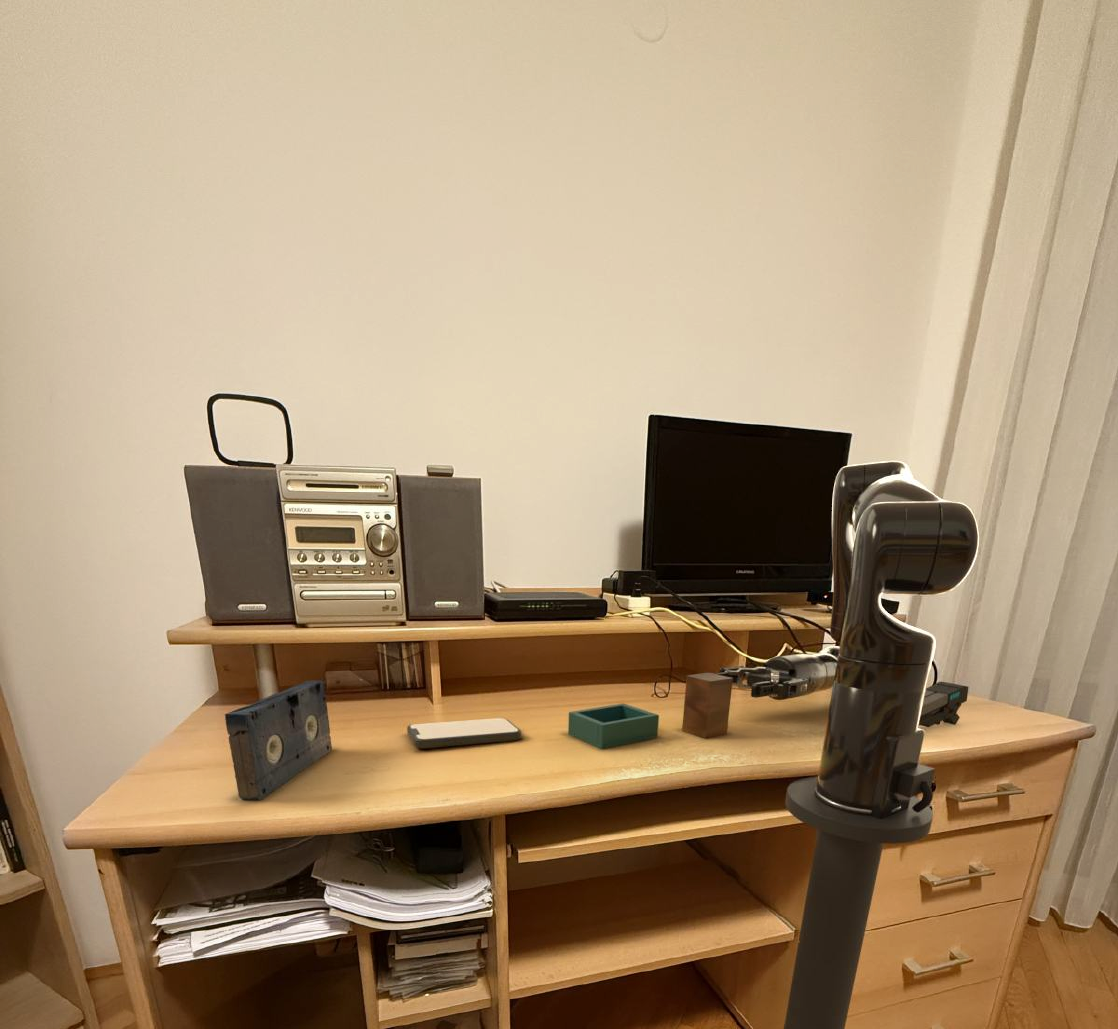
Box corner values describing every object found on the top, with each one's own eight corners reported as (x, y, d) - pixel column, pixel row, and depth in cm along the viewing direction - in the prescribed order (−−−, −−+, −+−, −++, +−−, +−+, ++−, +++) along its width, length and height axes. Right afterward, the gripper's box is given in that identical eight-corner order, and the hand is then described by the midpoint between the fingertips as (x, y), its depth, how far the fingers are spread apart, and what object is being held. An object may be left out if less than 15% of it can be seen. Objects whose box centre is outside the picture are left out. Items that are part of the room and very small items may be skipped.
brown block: (726, 733, 94) (733, 677, 91) (705, 738, 91) (710, 681, 88) (703, 726, 98) (708, 672, 95) (681, 730, 95) (686, 675, 92)
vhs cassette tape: (316, 748, 83) (307, 679, 80) (336, 749, 83) (328, 680, 80) (233, 800, 66) (219, 714, 63) (258, 801, 66) (245, 715, 63)
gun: (968, 722, 101) (970, 669, 96) (893, 776, 94) (891, 722, 90) (942, 716, 104) (942, 665, 100) (867, 767, 98) (864, 715, 93)
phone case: (505, 726, 96) (406, 734, 90) (505, 716, 96) (405, 724, 90) (523, 742, 89) (416, 751, 83) (524, 731, 88) (416, 740, 82)
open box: (657, 737, 91) (659, 714, 90) (601, 749, 85) (602, 725, 84) (622, 724, 98) (623, 703, 97) (568, 734, 92) (568, 712, 91)
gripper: (762, 649, 108) (700, 656, 100) (834, 661, 97) (771, 670, 88) (757, 689, 111) (696, 699, 102) (827, 705, 99) (765, 718, 91)
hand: (731, 685), depth 95 cm, fingers open, 8 cm apart
